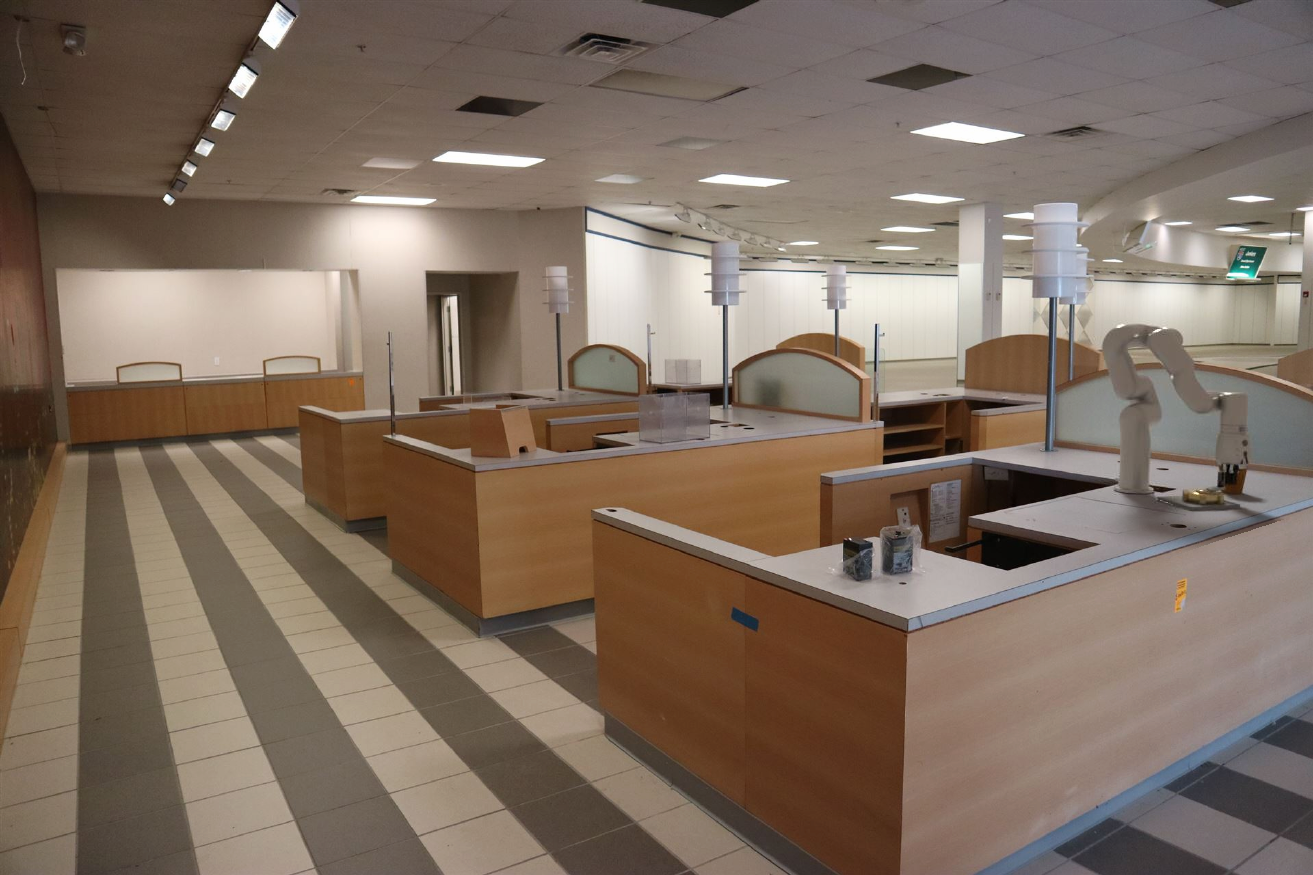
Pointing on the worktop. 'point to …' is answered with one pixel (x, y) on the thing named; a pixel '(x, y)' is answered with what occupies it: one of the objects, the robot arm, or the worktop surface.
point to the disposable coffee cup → (1240, 482)
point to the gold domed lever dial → (1207, 493)
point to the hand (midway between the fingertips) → (1230, 484)
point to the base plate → (1197, 504)
